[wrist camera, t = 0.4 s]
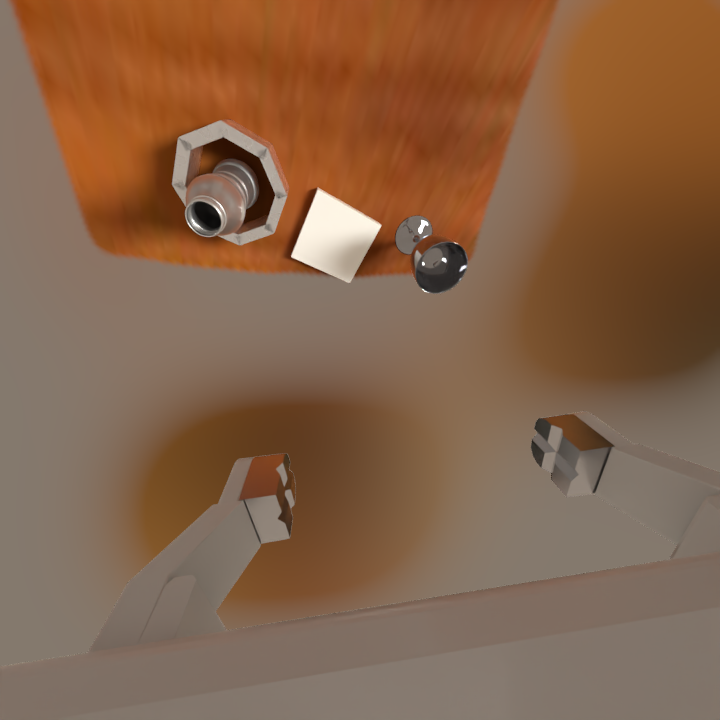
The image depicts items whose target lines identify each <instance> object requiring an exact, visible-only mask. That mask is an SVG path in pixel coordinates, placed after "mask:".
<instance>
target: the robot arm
mask: <svg viewBox="0 0 720 720" xmlns="http://www.w3.org/2000/svg"><path fill="white" fill-rule="evenodd" d="M534 429H535V430H536V431H537V434H536V436H534V438H533V439H532V443H531V450H532V454H533V457H534V459H535V460H536V462H537V464H538V465H539V466H540V467H541V468H542V469H544V470H546V471H548V472H550V473H551V480H552V481H553V482H554V483H555V485H556V486H557V487H558V488H559V489H560V490H561V491H562V493H563V494H564V495H565V496H566V497H572V496H580V495H589V494H595V496H596V497H598V498H600V499H601V500H603V501H605V502H606V503H608V504H610V505H611V506H613V507H615V508H616V509H618V510H620V511H621V512H623V513H624V514H626V515H628V516H630V517H631V518H633V519H634V520H636V521H638V522H639V523H641V524H643V525H644V526H646V527H648V528H649V529H651V530H653V531H654V532H656V533H658V534H659V535H661V536H662V537H664V538H666V539H668V540H669V541H671V542H672V543H674V544H676V545H677V546H676V548H675V549H674V551H673V552H672V554H671V556H670V559H669V560H663V561H657V562H650V563H644V564H639V565H632V566H625V567H619V568H613V569H607V570H600V571H594V572H588V573H582V574H576V575H569V576H563V577H557V578H550V579H544V580H538V581H532V582H525V583H519V584H513V585H506V586H500V587H494V588H488V589H482V590H476V591H469V592H463V593H457V594H451V595H444V596H438V597H432V598H426V599H420V600H414V601H408V602H401V603H395V604H388V605H383V606H376V607H370V608H363V609H357V610H351V611H345V612H338V613H332V614H326V615H320V616H313V617H307V618H301V619H295V620H288V621H282V622H276V623H270V624H264V625H257V626H252V627H245V628H239V629H232V630H226V628H225V627H224V625H223V623H222V621H221V620H220V618H219V617H218V615H217V613H216V610H217V609H218V607H219V606H220V604H221V603H222V601H223V600H224V599H225V597H226V595H227V594H228V593H229V591H230V590H231V588H232V587H233V585H234V584H235V582H236V581H237V580H238V578H239V577H240V575H241V574H242V572H243V571H244V569H245V568H246V566H247V565H248V563H249V562H250V560H251V559H252V558H253V556H254V555H255V553H256V552H257V550H258V549H259V547H260V546H261V545H260V544H261V543H267V542H273V541H278V540H284V539H289V538H290V535H291V527H292V520H293V516H292V512H291V507H292V506H293V505H294V504H295V497H296V485H295V478H294V474H293V472H291V471H290V470H289V467H290V460H289V457H288V455H287V454H286V453H283V454H275V455H266V456H257V457H252V458H243V459H238V460H237V461H236V462H235V464H234V466H233V469H232V472H231V474H230V476H229V479H228V481H227V483H226V486H225V488H224V491H223V493H222V496H221V498H220V500H219V503H218V504H215V505H212V506H211V507H210V508H209V509H208V510H207V511H206V512H205V513H203V514H202V515H201V516H200V517H199V518H198V519H197V520H196V521H195V522H194V523H192V524H191V525H190V526H189V527H188V528H187V529H186V530H185V531H184V532H183V533H182V534H180V535H179V536H178V537H177V538H176V539H175V540H174V541H173V542H172V543H171V544H169V546H167V547H166V548H165V549H164V550H163V551H162V552H161V553H160V554H159V555H158V556H156V557H155V558H154V559H153V560H152V561H151V562H150V563H149V564H148V565H147V566H145V567H144V568H143V569H142V570H141V571H140V572H139V573H138V574H137V575H136V576H135V577H133V578H132V579H131V580H130V581H129V582H128V583H127V585H126V587H125V588H124V590H123V592H122V594H121V595H120V597H119V599H118V601H117V602H116V604H115V606H114V608H113V609H112V611H111V613H110V615H109V616H108V618H107V620H106V622H105V623H104V625H103V627H102V628H101V630H100V632H99V634H98V635H97V637H96V639H95V641H94V643H93V644H92V646H91V648H90V649H89V651H88V653H82V654H75V655H69V656H63V657H56V658H50V659H44V660H38V661H31V662H25V663H19V664H12V665H6V666H0V720H720V472H718V471H715V470H712V469H709V468H706V467H704V466H701V465H698V464H695V463H692V462H690V461H687V460H684V459H681V458H678V457H675V456H672V455H670V454H667V453H664V452H661V451H658V450H656V449H652V448H650V447H647V446H644V445H641V444H633V443H631V442H630V441H629V440H627V439H626V438H625V437H623V436H622V435H620V434H619V433H618V432H616V431H615V430H613V429H612V428H611V427H609V426H608V425H606V424H605V423H603V422H602V421H601V420H600V419H598V418H597V417H595V416H594V415H593V414H591V413H589V412H586V411H583V412H576V413H570V414H565V415H558V416H552V417H545V418H539V419H538V420H537V421H536V423H535V427H534Z"/></svg>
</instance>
